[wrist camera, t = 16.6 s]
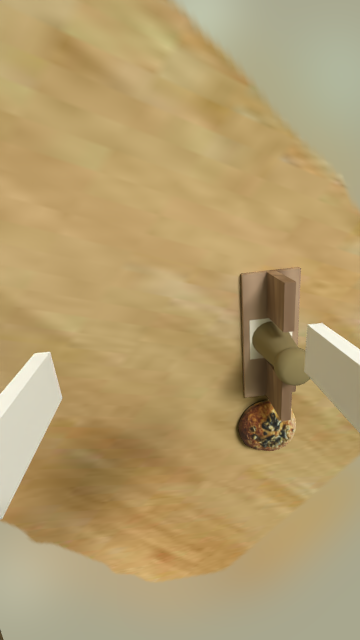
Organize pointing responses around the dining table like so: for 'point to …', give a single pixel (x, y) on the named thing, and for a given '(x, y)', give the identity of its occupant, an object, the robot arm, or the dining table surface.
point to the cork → (281, 353)
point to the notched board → (283, 310)
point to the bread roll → (265, 427)
